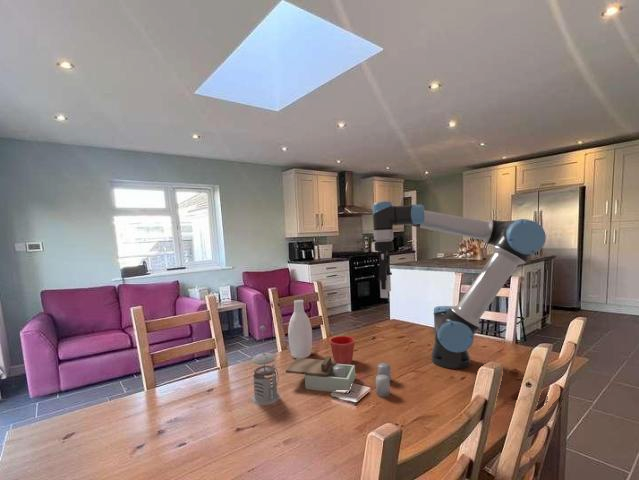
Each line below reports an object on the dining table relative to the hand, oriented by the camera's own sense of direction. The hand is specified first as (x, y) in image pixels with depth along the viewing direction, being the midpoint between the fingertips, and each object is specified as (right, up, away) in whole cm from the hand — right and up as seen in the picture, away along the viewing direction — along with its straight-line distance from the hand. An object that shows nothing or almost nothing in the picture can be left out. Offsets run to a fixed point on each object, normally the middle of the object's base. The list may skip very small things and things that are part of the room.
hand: (386, 294), depth 125 cm
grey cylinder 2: (-2, -31, -7) cm, 32 cm away
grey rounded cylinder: (-5, -31, -17) cm, 36 cm away
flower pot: (-16, -32, +11) cm, 37 cm away
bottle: (-35, -32, +21) cm, 52 cm away
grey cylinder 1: (-19, -31, -9) cm, 38 cm away
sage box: (-22, -32, -8) cm, 40 cm away
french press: (-44, -33, -17) cm, 58 cm away
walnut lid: (-29, -27, -6) cm, 40 cm away
